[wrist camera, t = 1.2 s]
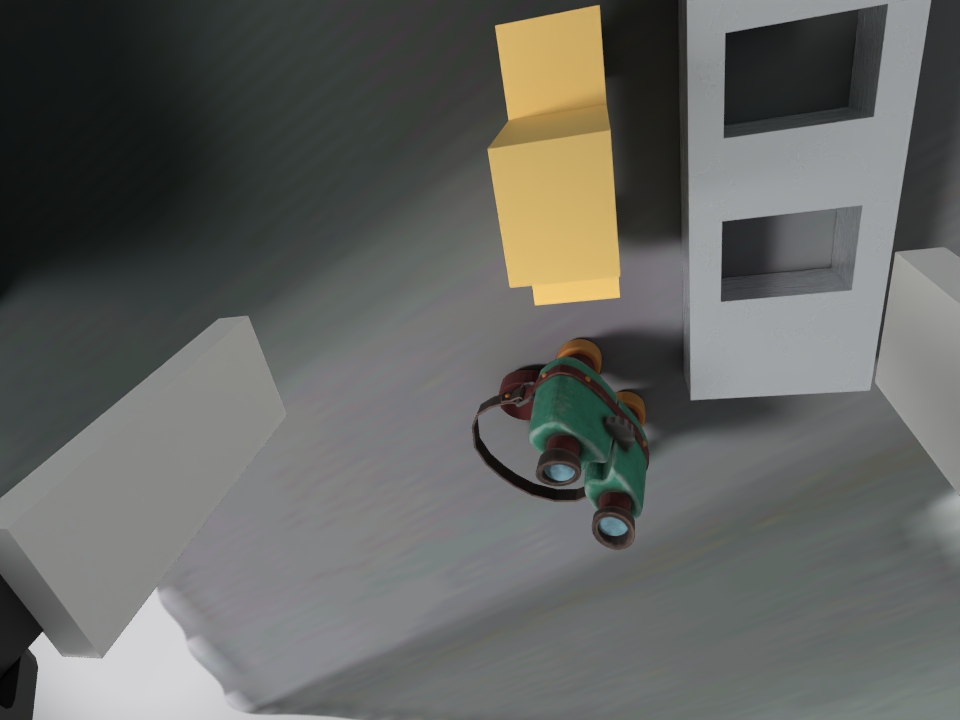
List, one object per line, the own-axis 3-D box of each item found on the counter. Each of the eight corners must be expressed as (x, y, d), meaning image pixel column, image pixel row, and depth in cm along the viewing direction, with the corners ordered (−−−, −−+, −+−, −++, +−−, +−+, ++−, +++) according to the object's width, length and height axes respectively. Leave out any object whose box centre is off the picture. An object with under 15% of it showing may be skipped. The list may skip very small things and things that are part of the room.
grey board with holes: (683, 372, 36) (690, 400, 34) (675, -122, 25) (685, -137, 23) (849, 361, 34) (869, 390, 32) (922, -181, 23) (963, -204, 21)
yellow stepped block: (615, 253, 33) (626, 361, 23) (543, 260, 34) (522, 368, 24) (598, 5, 28) (601, 4, 18) (512, 22, 29) (468, 30, 18)
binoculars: (418, 503, 32) (569, 426, 27) (468, 386, 40) (590, 311, 35) (526, 602, 34) (682, 550, 29) (551, 473, 43) (676, 415, 38)
